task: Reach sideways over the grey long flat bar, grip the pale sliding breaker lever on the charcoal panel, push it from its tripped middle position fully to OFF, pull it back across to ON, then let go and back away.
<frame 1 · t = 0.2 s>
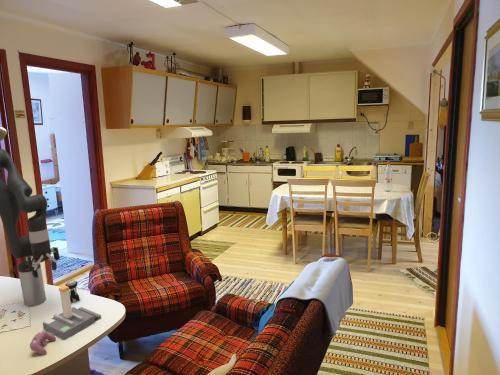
hand: (45, 273, 170), 18 cm above the table, tool pointing down, fingers open, 8 cm apart
video game controller: (43, 348, 146), on the table
breaker lever: (66, 303, 158), point 10 cm above the table, slide at 0.0 cm
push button: (72, 301, 180), on the table
breaker panel: (69, 325, 160), on the table
grey long flat bar: (88, 315, 167), on the table
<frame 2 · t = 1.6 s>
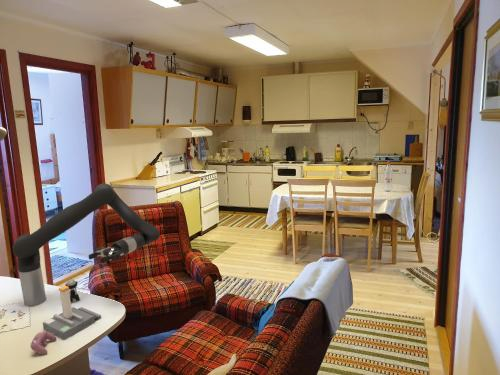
hand: (95, 259, 168), 24 cm above the table, tool horizontal, fingers open, 8 cm apart
nothing on the table moved.
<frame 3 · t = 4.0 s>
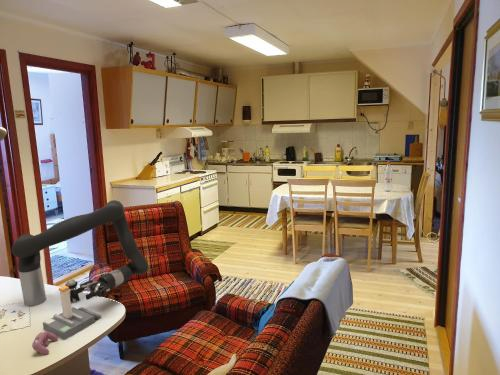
hand: (80, 295, 163), 11 cm above the table, tool horizontal, fingers open, 8 cm apart
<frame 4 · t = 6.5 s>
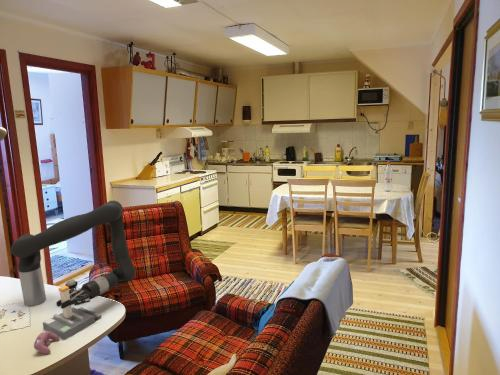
hand: (59, 305, 155), 11 cm above the table, tool horizontal, fingers closed on breaker lever, 2 cm apart
breaker lever: (66, 303, 158), point 10 cm above the table, slide at 0.0 cm, touching gripper
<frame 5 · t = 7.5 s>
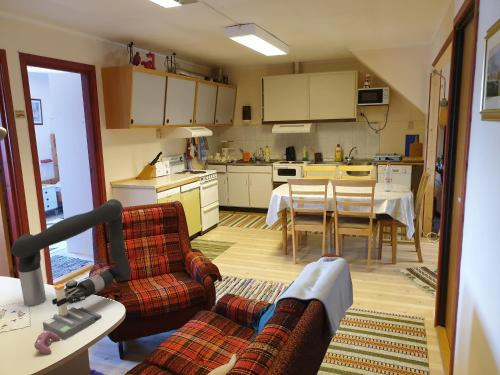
hand: (54, 303, 157), 11 cm above the table, tool horizontal, fingers closed on breaker lever, 2 cm apart
breaker lever: (61, 301, 159), point 10 cm above the table, slide at -3.3 cm, touching gripper
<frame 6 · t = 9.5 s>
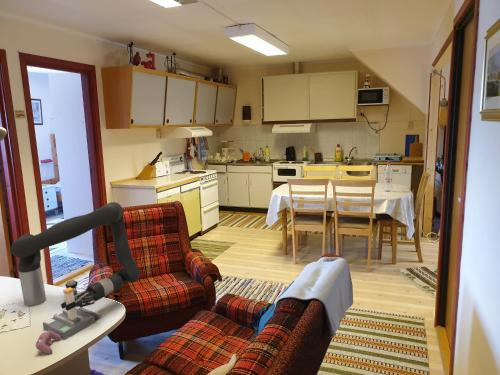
hand: (64, 307, 153), 11 cm above the table, tool horizontal, fingers closed on breaker lever, 2 cm apart
breaker lever: (70, 305, 156), point 10 cm above the table, slide at 3.2 cm, touching gripper
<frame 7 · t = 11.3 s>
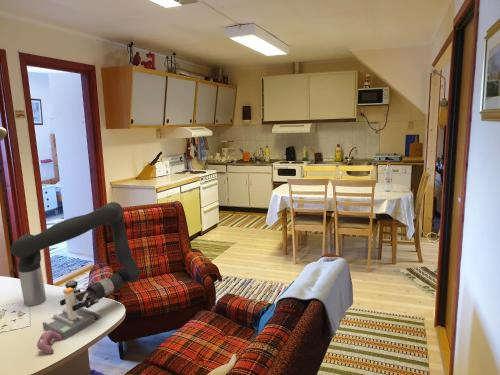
hand: (66, 306, 154), 11 cm above the table, tool horizontal, fingers open, 8 cm apart
breaker lever: (70, 305, 156), point 10 cm above the table, slide at 3.2 cm
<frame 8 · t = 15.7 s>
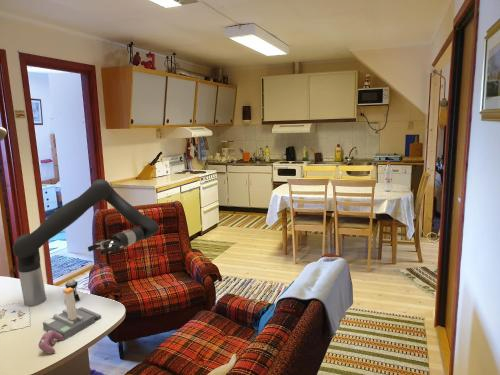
hand: (94, 251, 167), 28 cm above the table, tool horizontal, fingers open, 8 cm apart
at the end: breaker lever slide at 3.2 cm; the gripper is holding nothing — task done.
